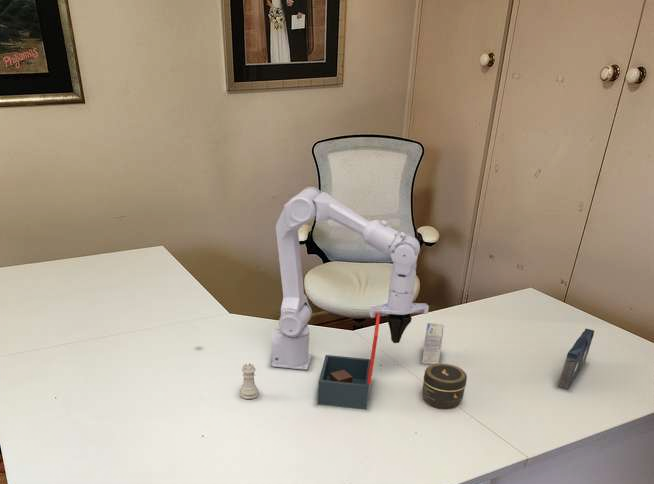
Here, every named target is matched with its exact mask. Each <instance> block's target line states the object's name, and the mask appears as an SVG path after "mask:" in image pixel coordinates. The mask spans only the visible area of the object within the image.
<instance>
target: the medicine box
mask: <svg viewBox="0 0 654 484" xmlns="http://www.w3.org/2000/svg"><path fill="white" fill-rule="evenodd" d="M425 329H426V330H425V336H424V344H423V352H422V360H421V363H422V364H425V365H434V364H440V359H441V357H440V356H441V352H442V351H441V350H442V344H443V337H444V324H442V323H434V322H427V323H426V328H425Z"/></svg>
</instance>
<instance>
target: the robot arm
mask: <svg viewBox="0 0 654 484" xmlns="http://www.w3.org/2000/svg"><path fill="white" fill-rule="evenodd" d="M314 217H315V222H321V221H328V220H332V221H334V222H336V223H337V224H340V225H342V226H343V227H346V229H347V228H348V229H349V230H351V231H354V232H356V233H357V234H359V235H361V236H362V239H363V243H364V244H366V245H367V246H370V247H371V248H373V249H375V250H377V251H378V252H380V253H382V254H383V255H386V256H387V257H391V261H392V268H391V271H390V278H389V280H390V281H389V287H388V289H389V290H388V298H387V303H383V304H380V305H376V306H369V308H368V316H369V317H370V318H371V319H373V318H375V319H376V317H377V312H380V317H383V316H385V318H386V321H387V323H388V326H389V332H390V340H391V342H392V343H393V344H399V343H400V342H401V339H402V337H403V335H404V332H405V330H406V329H407V327H408V326H409V325H410V323H411V322H412V319H413V318H412V316H411V314H413V315H414V314H422V315H423V314H424V315H428V314H429V309H430V306H429V304H427V303H426V302H425V303H423V302H422V303H421V302H419V303H418V302H413V297H414V291H415V284H416V276H417V271H416V270H417V264H418V263H417V260H418V258H419V257H418V256H419V254H420V252H421V245H420V242H419V240H418V239H417V238H416V237H414V235H412V234H406V233H405V232H403V231H401V232H399V231H397V230H396V229H394V228H393V227H391V226H389V225H387V224H388V222H387V221H386V220H385V219H381V221H380V220H378V219H374V220H368V219H366V218H364V217H363V216H362V215H360V214H359V213H357V212H355V211H354V210H352V209H351V208H350V207H347V206H346V205H344V204H343V203H341V202H339V201H338V200H336V199H335V198H334V197H333V196H331V195H330V194H329V193H327V192H325V191H321V190H320V189H319V188H317V187H314V186H307V187H305V188H303V189H302V190H301V191H300V192H299V193H298V194H296V195H295V196H293V197H292V198H291V199H289V201H288V202H286V203H285V204H284V206H283V209H282V211H281V213H280V216H279V218H278V219H277V221H276V224H275V233H276V242H277V252H278V253H277V254H278V261H279V270H280V279H281V280H280V281H281V287H282V288H281V290H282V296H283V297H282V302H281V306H280V317H279V320H278V328H274V330H273V333H272V340H271V367H273V368H282V369H283V368H284V369H294V370H303V371H307V370H308V369H309V366H310V364H311V363H310V362H311V359H312V355H311V354H309V351H310V350H309V347H310V346H309V345H310V327H309V325H308V322H310V321H311V319H312V317H313V310H312V307H311V306H310V305H309V302H308V296H307V295H306V294H305V290H304V280H303V268H302V258H301V248H300V236H299V235H300V234H299V231H300V229H301V228H302V227H303V226H304V225H306V224H308V223H310V222H311V221H312V220H313V218H314Z"/></svg>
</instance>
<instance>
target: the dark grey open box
mask: <svg viewBox="0 0 654 484" xmlns="http://www.w3.org/2000/svg"><path fill="white" fill-rule="evenodd" d="M370 359H371V358H363V357H353V356H352V357H351V356H342V355H333V354H332V355H331V354H325V355H324V360H323V363H322V367H321V371H320V374H319V378H318V385H317V386H318V387H317V405H321V406H330V407H340V408H341V407H342V408H351V409H359V410H367V408H368V399H369V390H370V385H368V376H369V368H370ZM341 370H345V371H346V372H347V373H349V374H350V375H351V376H352V377H353V379H352V383H347V382H337V381H330V373H333V372H337V371H341Z"/></svg>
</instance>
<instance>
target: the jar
mask: <svg viewBox="0 0 654 484" xmlns="http://www.w3.org/2000/svg"><path fill="white" fill-rule="evenodd" d="M422 379H423V383H422V389H421V395H422V399H423V401H424V402H425V403H426V405H428V406H430V407H432V408H434V409H439V410H452V409H455V408H457V407H458V406H459V405H460V404H461V402H462V400H463V398H464V394H465V389H466V386H467V381H468V376H467V373H466V371H465V370H463V369H462V368H460V367H459V366H457V365H454V364H450V363H439V364H430V365H429V366H427V367H426V368H425V370H424V374H423V378H422Z"/></svg>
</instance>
